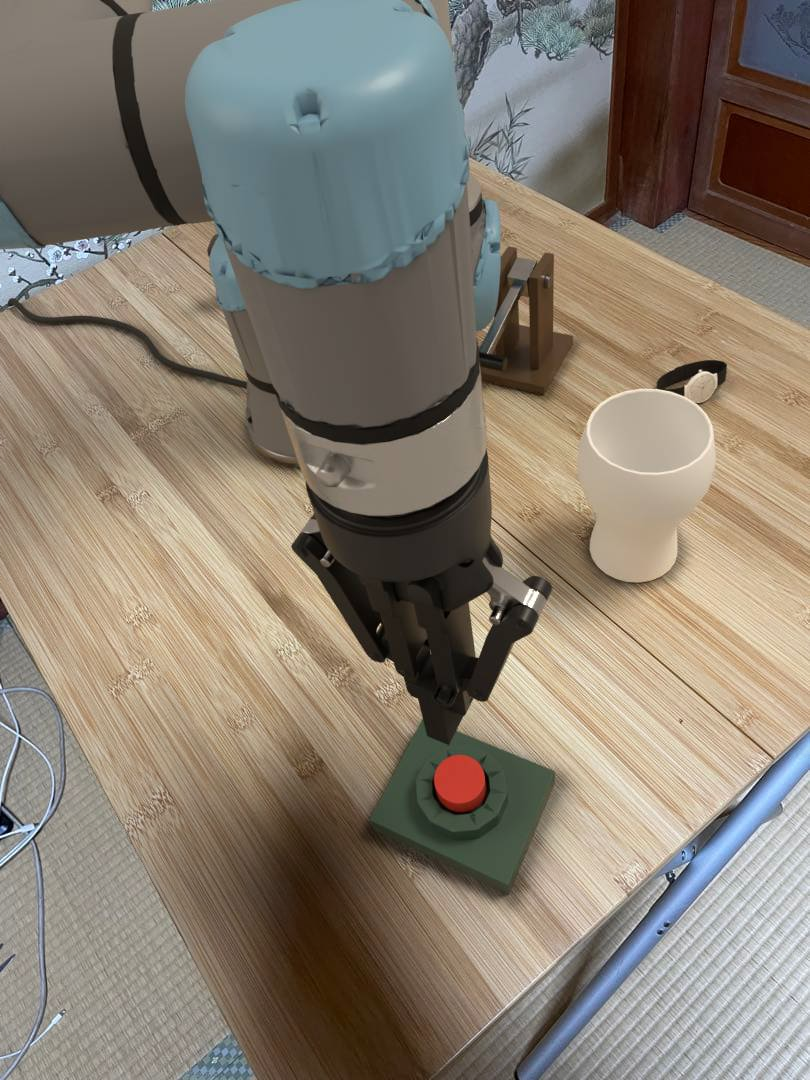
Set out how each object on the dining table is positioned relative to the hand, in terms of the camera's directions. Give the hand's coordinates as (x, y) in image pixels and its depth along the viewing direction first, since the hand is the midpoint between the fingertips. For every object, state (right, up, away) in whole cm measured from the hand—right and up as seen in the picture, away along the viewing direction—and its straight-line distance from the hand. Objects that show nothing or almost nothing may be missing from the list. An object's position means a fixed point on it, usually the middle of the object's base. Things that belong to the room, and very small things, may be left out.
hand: (447, 722), depth 52 cm
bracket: (+11, +31, +42) cm, 54 cm away
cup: (+18, +10, +24) cm, 32 cm away
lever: (+7, +33, +33) cm, 47 cm away
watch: (+27, +27, +36) cm, 52 cm away
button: (+1, -7, +9) cm, 11 cm away
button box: (+2, -9, +11) cm, 15 cm away
